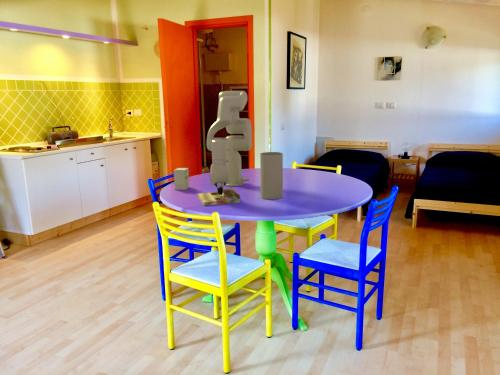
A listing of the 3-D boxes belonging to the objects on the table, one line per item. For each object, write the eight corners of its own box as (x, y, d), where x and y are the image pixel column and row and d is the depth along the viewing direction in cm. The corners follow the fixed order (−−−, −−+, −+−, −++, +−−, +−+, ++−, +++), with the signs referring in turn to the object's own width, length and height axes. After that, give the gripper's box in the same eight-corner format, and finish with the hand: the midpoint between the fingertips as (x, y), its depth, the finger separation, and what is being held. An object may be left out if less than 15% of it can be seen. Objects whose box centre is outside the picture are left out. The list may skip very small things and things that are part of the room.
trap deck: (231, 194, 244) (231, 187, 243) (240, 202, 226) (239, 195, 225) (197, 197, 239) (197, 190, 238) (203, 205, 220) (203, 198, 219)
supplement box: (185, 190, 257) (184, 170, 254) (174, 189, 258) (173, 169, 255) (189, 187, 264) (188, 167, 261) (178, 187, 265) (177, 167, 262)
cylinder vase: (268, 193, 244) (268, 151, 238) (286, 196, 237) (286, 152, 231) (256, 198, 234) (255, 154, 228) (275, 201, 227) (275, 155, 221)
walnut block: (231, 194, 235) (231, 188, 235) (232, 196, 231) (232, 190, 230) (223, 195, 234) (223, 189, 233) (225, 196, 230) (224, 190, 229)
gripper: (230, 160, 233) (231, 191, 237) (204, 161, 229) (206, 194, 233) (234, 162, 226) (234, 194, 230) (207, 164, 222) (208, 197, 226)
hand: (220, 194), depth 232 cm, fingers closed
